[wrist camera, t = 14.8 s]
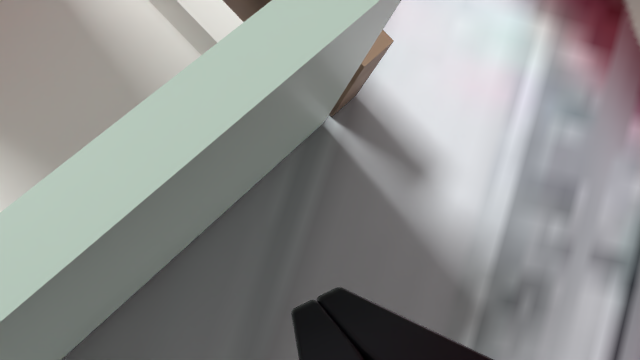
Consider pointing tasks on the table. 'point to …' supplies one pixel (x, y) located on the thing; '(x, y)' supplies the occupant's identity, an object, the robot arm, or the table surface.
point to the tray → (145, 138)
